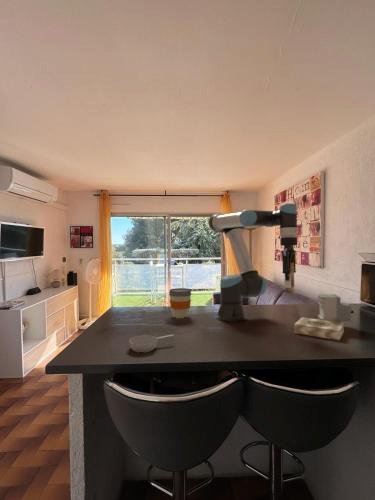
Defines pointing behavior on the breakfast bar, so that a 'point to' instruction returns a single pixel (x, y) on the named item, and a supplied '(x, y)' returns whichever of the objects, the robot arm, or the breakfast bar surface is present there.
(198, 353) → the breakfast bar surface
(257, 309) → the breakfast bar surface
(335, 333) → the board
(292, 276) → the peg
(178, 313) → the reusable coffee cup
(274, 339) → the breakfast bar surface
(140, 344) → the saucepan
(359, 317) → the breakfast bar surface
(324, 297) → the circuit breaker
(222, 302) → the robot arm
